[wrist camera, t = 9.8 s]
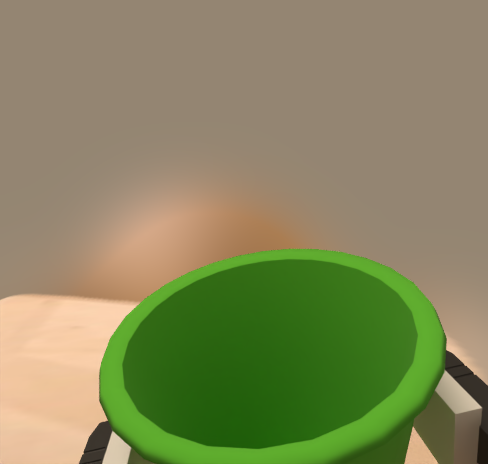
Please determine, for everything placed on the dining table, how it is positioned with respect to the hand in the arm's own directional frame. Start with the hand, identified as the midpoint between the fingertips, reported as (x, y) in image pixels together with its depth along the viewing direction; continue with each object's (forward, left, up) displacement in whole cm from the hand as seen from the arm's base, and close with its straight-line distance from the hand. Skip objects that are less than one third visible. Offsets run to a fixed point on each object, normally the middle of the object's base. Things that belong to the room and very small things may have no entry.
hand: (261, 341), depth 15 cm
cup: (0, -5, -7) cm, 8 cm away
